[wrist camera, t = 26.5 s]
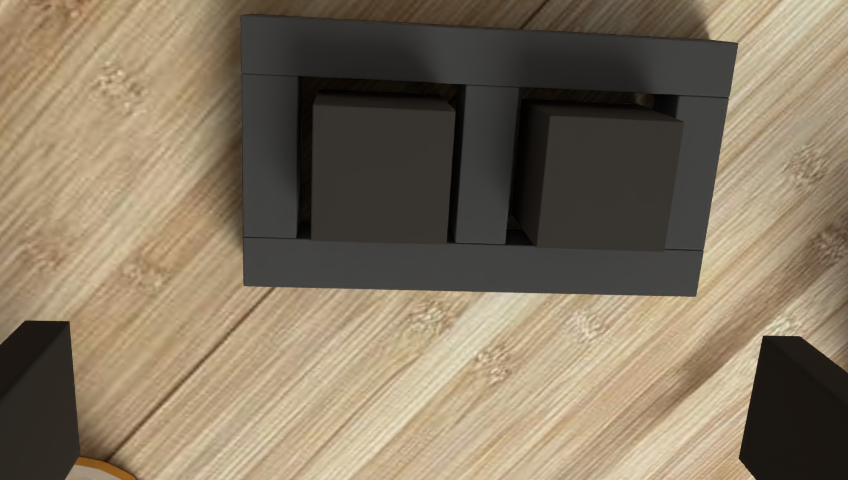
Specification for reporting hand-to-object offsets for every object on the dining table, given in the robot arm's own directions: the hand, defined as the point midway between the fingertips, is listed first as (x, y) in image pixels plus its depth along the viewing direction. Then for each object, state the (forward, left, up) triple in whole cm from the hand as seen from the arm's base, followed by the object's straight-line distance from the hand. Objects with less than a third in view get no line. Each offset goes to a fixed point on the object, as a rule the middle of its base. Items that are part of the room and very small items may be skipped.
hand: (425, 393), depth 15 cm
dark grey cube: (-10, 0, -26) cm, 28 cm away
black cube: (0, 0, -26) cm, 26 cm away
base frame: (-5, 0, -26) cm, 26 cm away
